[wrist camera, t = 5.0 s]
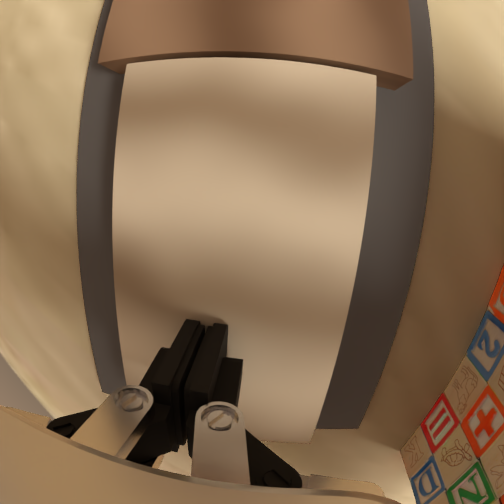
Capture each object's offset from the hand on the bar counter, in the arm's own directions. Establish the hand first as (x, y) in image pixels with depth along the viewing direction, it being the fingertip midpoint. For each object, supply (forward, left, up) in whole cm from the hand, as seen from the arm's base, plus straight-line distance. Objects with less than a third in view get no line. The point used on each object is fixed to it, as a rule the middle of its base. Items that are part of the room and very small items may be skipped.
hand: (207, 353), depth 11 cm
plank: (-1, -3, -2) cm, 4 cm away
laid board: (-1, -18, -2) cm, 18 cm away
